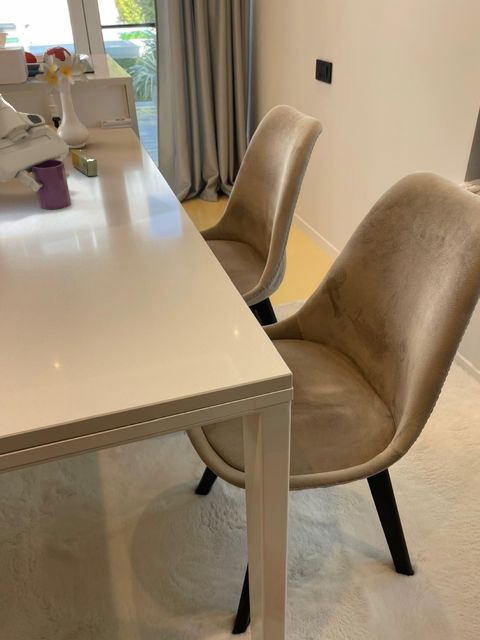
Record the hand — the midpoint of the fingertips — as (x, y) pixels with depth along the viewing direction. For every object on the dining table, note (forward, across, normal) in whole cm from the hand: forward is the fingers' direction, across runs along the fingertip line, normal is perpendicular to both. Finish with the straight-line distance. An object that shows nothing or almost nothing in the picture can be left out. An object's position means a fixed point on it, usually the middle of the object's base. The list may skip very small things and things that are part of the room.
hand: (53, 183), depth 123 cm
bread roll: (-28, +46, +35) cm, 64 cm away
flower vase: (-17, +42, +24) cm, 52 cm away
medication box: (-4, +24, +11) cm, 26 cm away
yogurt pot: (+3, 0, +4) cm, 5 cm away
